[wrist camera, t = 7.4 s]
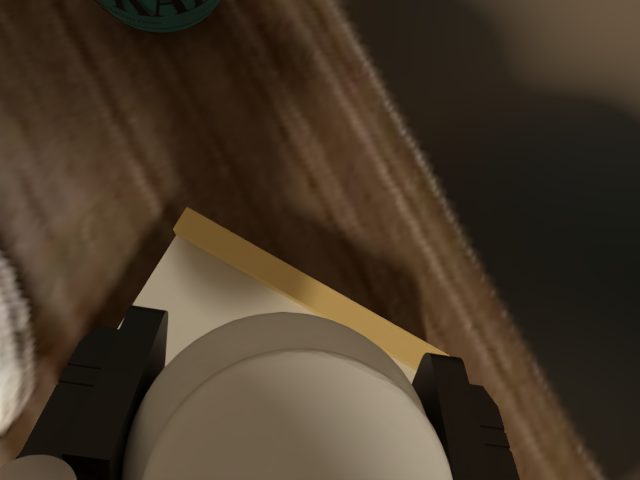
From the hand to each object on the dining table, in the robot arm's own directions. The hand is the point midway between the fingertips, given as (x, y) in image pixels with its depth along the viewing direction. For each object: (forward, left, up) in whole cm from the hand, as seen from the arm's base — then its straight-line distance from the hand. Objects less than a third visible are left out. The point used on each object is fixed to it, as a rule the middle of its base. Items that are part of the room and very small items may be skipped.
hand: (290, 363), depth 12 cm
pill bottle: (+1, -2, -5) cm, 5 cm away
